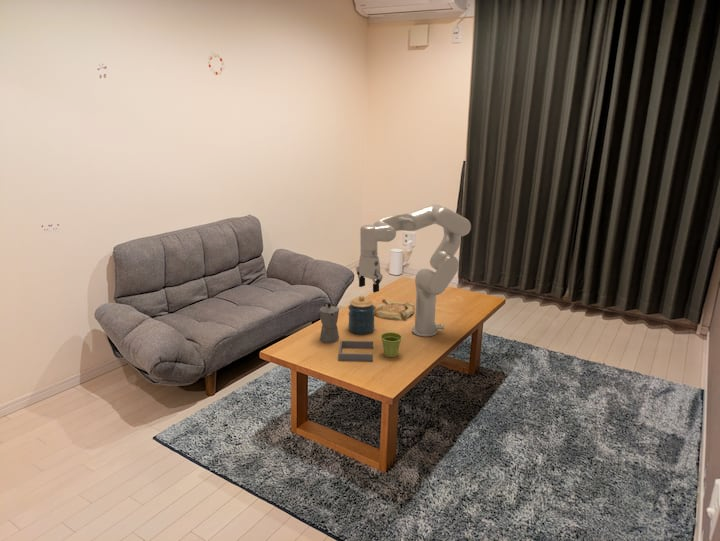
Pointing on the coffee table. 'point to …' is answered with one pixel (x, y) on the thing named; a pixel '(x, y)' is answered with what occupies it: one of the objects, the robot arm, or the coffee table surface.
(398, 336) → the plant pot
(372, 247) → the robot arm
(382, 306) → the ashtray
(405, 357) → the coffee table surface
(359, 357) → the bay
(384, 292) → the coffee table surface
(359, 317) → the canister
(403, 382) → the coffee table surface
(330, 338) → the coffeepot
